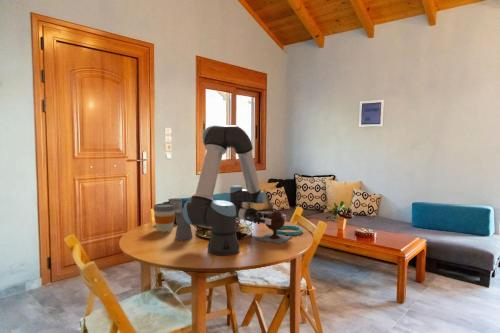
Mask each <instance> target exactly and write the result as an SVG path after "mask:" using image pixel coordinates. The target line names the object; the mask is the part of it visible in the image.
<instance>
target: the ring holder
mask: <svg viewBox="0 0 500 333" xmlns="http://www.w3.org/2000/svg"><path fill="white" fill-rule="evenodd" d="M284 230H293V231H284ZM276 233H277V234H279V235H285V236H286V235H288V236H292V237H293V235H294V236H298V235H301V234H302V233H303V229H302V227H301V226H297V225H292V224H291V225H290V224H284V226H283V227H282V228H281V229H279V230H277V231H276Z"/></svg>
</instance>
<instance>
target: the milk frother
mask: <svg viewBox="0 0 500 333" xmlns="http://www.w3.org/2000/svg"><path fill="white" fill-rule="evenodd" d="M167 200H168V201H164V202H163V203H172V204H175V207H176V210H179V209H183V207H182V206H183V198H179V197H177V198H173V197H172V198H168V199H167ZM176 210H175V211H176ZM173 225H175V226H177V225H178V224H177V222H176V216H175V221H174V223H173Z"/></svg>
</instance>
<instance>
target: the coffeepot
mask: <svg viewBox="0 0 500 333" xmlns="http://www.w3.org/2000/svg"><path fill="white" fill-rule="evenodd" d="M184 205H185V204H184ZM184 205H183V204H182V209H179V210H176V211H175V213H174V214H175V216H176V222H177V225H176V231H175V238H174V239H175V240H176V239H177V240H176V241H179V240H186V241H191V240H192V239H193V231H192V225H190V224H188V223H187V222H186V221H185V219H184V217H183V207H184Z"/></svg>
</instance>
